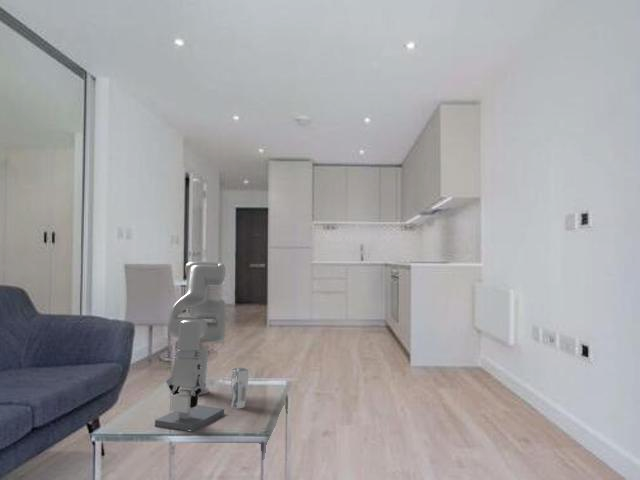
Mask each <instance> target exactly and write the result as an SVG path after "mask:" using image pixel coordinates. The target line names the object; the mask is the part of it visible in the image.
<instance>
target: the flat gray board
mask: <svg viewBox="0 0 640 480" xmlns="http://www.w3.org/2000/svg"><path fill="white" fill-rule="evenodd" d="M223 415H225V408H222V407H215V406H208V405H200V404H198V407H197V409H195V410H192V411H190V412H188V413H183V412H176V411H171V412H169V413H168V414H166V415H163V416H161V417H158V418H156V419H155V420H154V427H159V428H166V429H172V430H177V429H181V430H180V431H183V430H191V431H193V432H195V431H196V430H199V429H200V428H202V427H204V426H206V425H208V424H209V423H211V422H212V421H215V420H216V419H218V418H220V417H222V416H223ZM194 430H195V431H194Z"/></svg>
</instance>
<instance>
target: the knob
mask: <svg viewBox="0 0 640 480" xmlns="http://www.w3.org/2000/svg"><path fill="white" fill-rule="evenodd" d="M180 389H181V390H180ZM180 389H179V391H178V392H179V393H177V394H175V395H173V394H172V395H171V401H170V403H171V404H170V411H171V412H174V411H176V412H183V413H188V412H190V411H192V410H195V409H197V407H198V405H199V404H198V403H199V401H198V402H197V406H195V407H193V408H191V407H190V405H191V396H192V392H191V389H182V388H180Z"/></svg>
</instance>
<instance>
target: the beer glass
mask: <svg viewBox="0 0 640 480" xmlns="http://www.w3.org/2000/svg"><path fill="white" fill-rule="evenodd" d="M231 371H232V372H231V379H230V386H231V393H232V394H231V397H232V399H231V403H230V407H231V408H232V409H235V410H242V409H245V408H246V407H247V405H246V404H247V403H246V396H247V391H248V386H249V374H250V373H249V368H246V367H234V368H232V370H231ZM244 407H245V408H244ZM241 408H242V409H241Z"/></svg>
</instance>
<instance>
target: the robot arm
mask: <svg viewBox="0 0 640 480" xmlns="http://www.w3.org/2000/svg"><path fill="white" fill-rule="evenodd" d="M184 270H185V271H184V272H185V275H186V278H187V279H186V280H187V281H186V286H185V291H184V295H183V296H181V297H180V298H179V299H178V300H176V301H175V303H174V304H173V305H172V308H171V309H170V313H169V319H168V325H167V333H168V335H169V337H172V338H177V352H176V357H175V359H174V361H173V367H172V371H171V372H172V373H171V376H170V377H169V378H168V379H166V381H165V383H166V384H167V386H168V388H169V391H170V392H171V394H172V395H175V394H177V393H179V390H181V389H191V392H192V396H191V405H190V407H191V408H193V407H195V406H197V402H198V403H199V396H200V395H201V396H202V395H206V394H208V393H209V392H210V389H209V387H207V370H208V369H207V368H208V356H209V355H208V354H209V353H208V350H207V348H206V347H205V345H204V344H211V343H212V344H217V343H222V342H223V341H224V339H225V336H226V322H227V320H226V319H227V318H226V317H227V315H226V314H227V305H226V301H225V300H224V299H222V298H218V297H217V298H216V297H215V298H212V297H211V286H222V285H223V283H224V280H225V277H226V273H227V272H226V265H225V264H224V263H223V262H217V261H216V262H213V261H209V262H208V261H188V262H187V263H186V264H185V266H184ZM188 309H189V311H190V312H189V313H190V316H191V317H189V316H187V317H186V316H185V317H182V316H179V315H180V314H181V313H182V312H185V310H188ZM206 320H214V321H206Z"/></svg>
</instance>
